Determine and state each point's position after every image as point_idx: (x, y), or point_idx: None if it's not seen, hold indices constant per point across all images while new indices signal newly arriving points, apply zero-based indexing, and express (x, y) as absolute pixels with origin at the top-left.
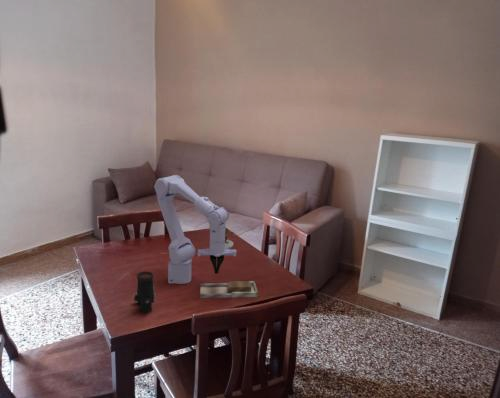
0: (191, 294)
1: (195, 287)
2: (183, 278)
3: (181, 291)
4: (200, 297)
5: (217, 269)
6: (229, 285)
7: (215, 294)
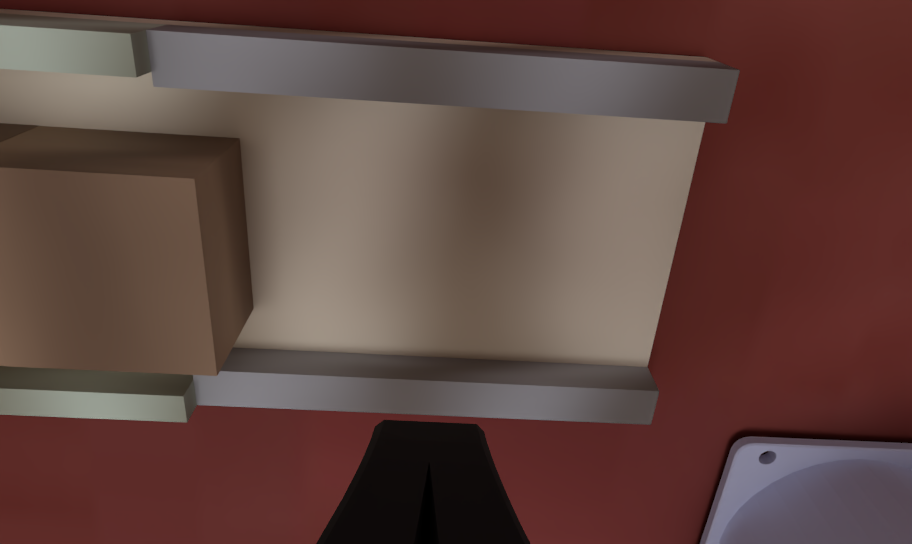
0: (796, 226)
1: (694, 393)
2: (896, 525)
3: (907, 314)
4: (716, 64)
5: (394, 517)
6: (171, 243)
7: (460, 68)
